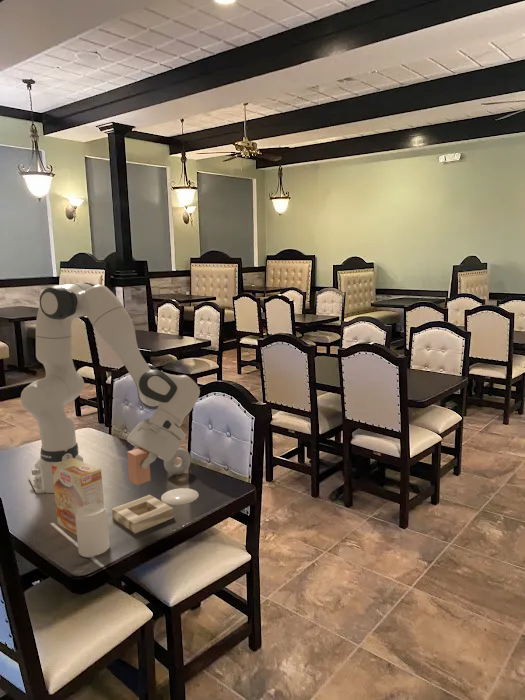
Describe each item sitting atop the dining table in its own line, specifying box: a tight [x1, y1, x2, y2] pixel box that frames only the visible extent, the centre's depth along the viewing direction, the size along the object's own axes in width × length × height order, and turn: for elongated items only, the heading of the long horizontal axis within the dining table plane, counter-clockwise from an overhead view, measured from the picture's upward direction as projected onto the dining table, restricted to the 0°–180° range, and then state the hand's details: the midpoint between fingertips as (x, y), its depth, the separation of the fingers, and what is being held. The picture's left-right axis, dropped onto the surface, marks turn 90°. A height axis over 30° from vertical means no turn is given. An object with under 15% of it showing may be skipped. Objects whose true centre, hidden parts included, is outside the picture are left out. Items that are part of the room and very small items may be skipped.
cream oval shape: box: [160, 487, 200, 506], centre depth 173 cm, size 12×12×1 cm
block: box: [126, 448, 151, 486], centre depth 157 cm, size 4×4×9 cm
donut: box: [163, 447, 192, 476], centre depth 192 cm, size 10×4×10 cm, turn 117°
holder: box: [111, 494, 175, 534], centre depth 159 cm, size 13×13×4 cm
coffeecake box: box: [52, 458, 105, 536], centre depth 154 cm, size 15×7×20 cm, turn 51°
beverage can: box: [75, 503, 111, 558], centre depth 143 cm, size 8×8×12 cm
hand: (136, 464), depth 156 cm, fingers closed on block, 4 cm apart
